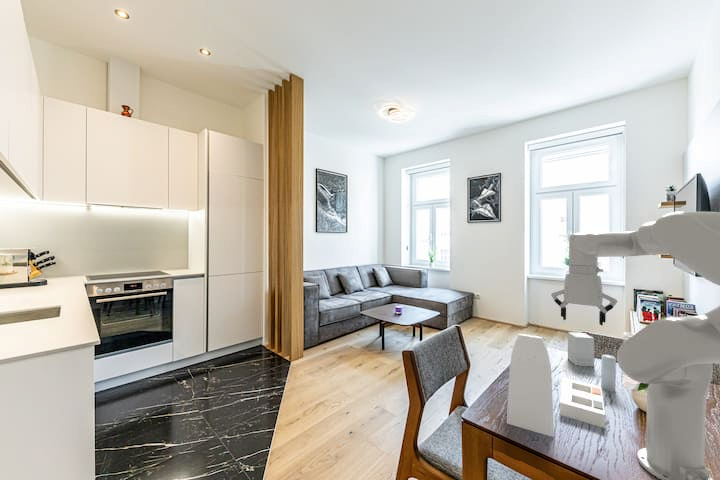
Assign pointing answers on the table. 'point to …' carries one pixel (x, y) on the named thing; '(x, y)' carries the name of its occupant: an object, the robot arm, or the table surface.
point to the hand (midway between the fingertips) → (582, 321)
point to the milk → (530, 386)
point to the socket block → (582, 402)
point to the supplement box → (581, 349)
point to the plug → (608, 373)
